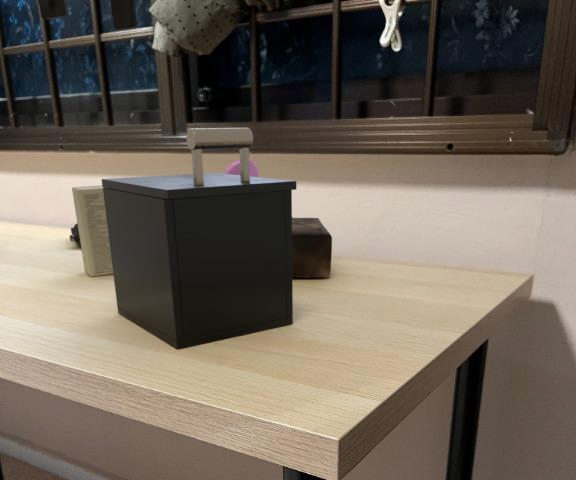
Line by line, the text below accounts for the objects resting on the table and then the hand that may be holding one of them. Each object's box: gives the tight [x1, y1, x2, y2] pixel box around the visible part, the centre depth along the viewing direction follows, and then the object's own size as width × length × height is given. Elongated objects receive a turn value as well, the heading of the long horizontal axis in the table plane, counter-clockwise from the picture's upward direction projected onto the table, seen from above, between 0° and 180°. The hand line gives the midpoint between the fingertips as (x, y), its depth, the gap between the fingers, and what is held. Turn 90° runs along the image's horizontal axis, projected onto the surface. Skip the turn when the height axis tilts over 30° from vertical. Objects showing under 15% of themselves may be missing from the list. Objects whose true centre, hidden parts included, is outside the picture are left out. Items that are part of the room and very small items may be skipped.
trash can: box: [103, 187, 294, 350], centre depth 65 cm, size 16×14×14 cm
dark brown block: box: [292, 217, 333, 279], centre depth 91 cm, size 8×19×7 cm, turn 2°
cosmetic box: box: [71, 184, 113, 277], centre depth 88 cm, size 6×4×12 cm
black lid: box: [101, 127, 297, 199], centre depth 61 cm, size 16×14×6 cm
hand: (91, 23), depth 65 cm, fingers open, 9 cm apart
